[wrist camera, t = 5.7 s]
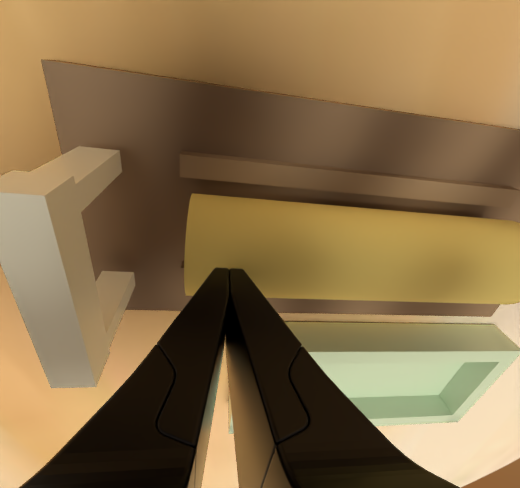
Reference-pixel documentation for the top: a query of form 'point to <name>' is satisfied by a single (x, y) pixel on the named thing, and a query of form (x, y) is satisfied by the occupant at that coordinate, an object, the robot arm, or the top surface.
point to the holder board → (264, 169)
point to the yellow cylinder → (352, 251)
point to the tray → (407, 366)
